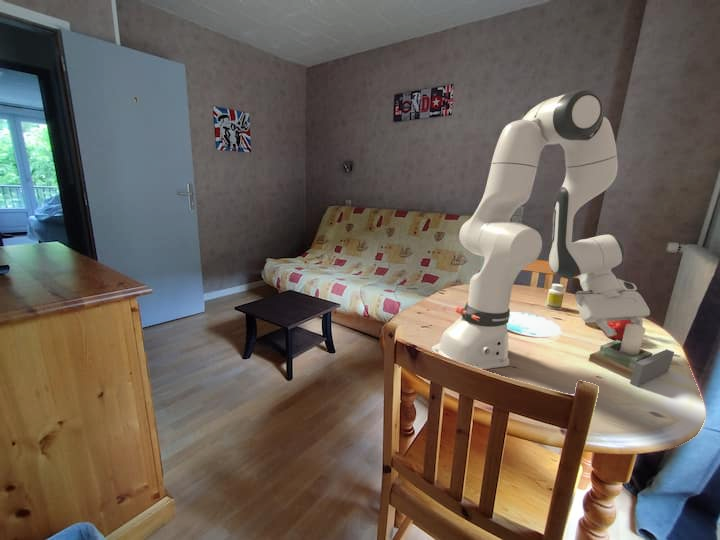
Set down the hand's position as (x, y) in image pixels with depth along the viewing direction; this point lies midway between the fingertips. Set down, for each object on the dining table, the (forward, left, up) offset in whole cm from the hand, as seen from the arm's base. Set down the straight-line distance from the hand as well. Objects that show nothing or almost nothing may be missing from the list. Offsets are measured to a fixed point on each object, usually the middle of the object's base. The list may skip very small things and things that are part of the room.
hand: (626, 334), depth 88 cm
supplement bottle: (+24, +36, -9) cm, 44 cm away
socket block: (-1, -1, -9) cm, 9 cm away
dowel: (0, -2, -7) cm, 7 cm away
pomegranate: (+18, +10, -9) cm, 23 cm away
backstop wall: (-1, -7, -9) cm, 11 cm away
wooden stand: (+21, +18, -9) cm, 29 cm away
